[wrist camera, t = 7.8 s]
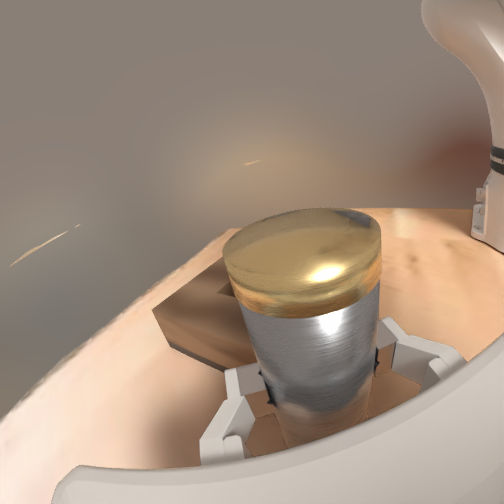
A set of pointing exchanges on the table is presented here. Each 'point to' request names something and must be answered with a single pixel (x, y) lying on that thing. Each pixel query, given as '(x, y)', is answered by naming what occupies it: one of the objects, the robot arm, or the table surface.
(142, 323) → the table surface
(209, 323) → the post block
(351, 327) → the steel rod
